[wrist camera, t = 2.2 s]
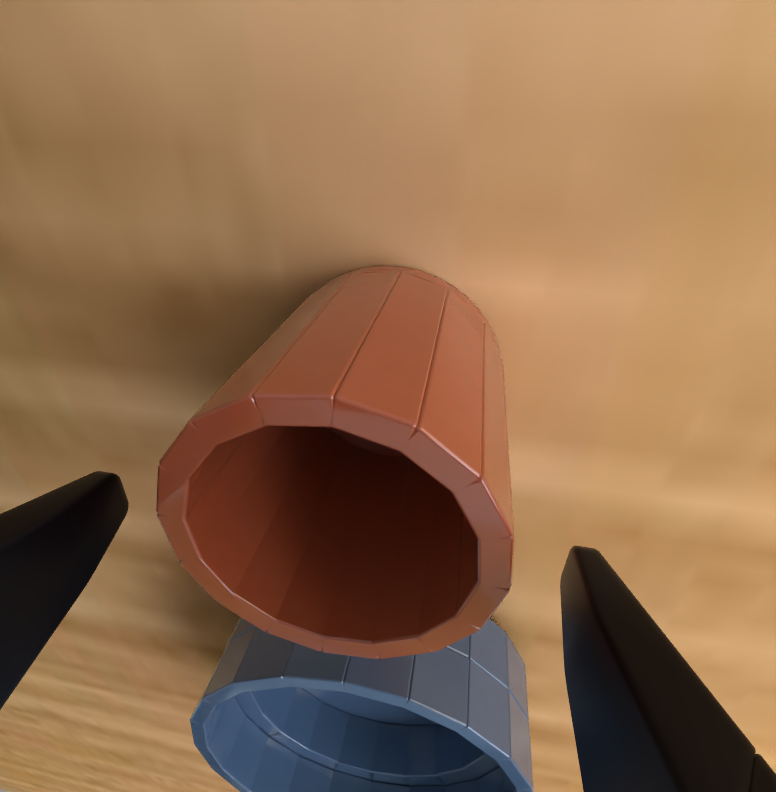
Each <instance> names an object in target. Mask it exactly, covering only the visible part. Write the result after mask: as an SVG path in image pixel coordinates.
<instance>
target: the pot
mask: <svg viewBox="0 0 776 792" xmlns="http://www.w3.org/2000/svg"><path fill="white" fill-rule="evenodd" d="M156 511H157V517H158V519H159V521H160V523H161V525H162V528H163V530H164V532H165V534H166V536H167V539H168V541H169V543H170V545H171V547H172V549H173V552H174V554H175V556H176V558H177V559H178V560H179V563H180V564H181V565H182V566H183V567H184V568H185V569H186V571H187V572H188V573H189V574H190V575H191V576H192V577H193V578H194V579H195V580H196V581H197V582H198V583H199V584H200V585H201V586H202V587H203V588H204V590H205V591H206V592H207V593H208V594H209V595H210V596H211V597H212V598H213V599H214V600H215V601H217V602H218V603H219V604H221V605H222V606H224V607H225V608H227V609H229V610H230V611H232V612H233V613H235V614H237V615H238V616H240V617H241V618H243V619H245V620H246V621H248V622H249V623H251V624H253V625H254V626H256V627H257V628H259V629H260V630H262V631H264V632H268V633H269V634H271V635H274V636H277V637H280V638H283V639H285V640H288V641H291V642H294V643H297V644H300V645H302V646H305V647H308V648H311V649H314V650H316V651H323V652H324V653H330V654H339V655H347V656H355V657H363V658H371V659H379V658H380V659H388V658H395V657H403V656H411V655H418V654H426V653H432V652H437V651H439V650H441V649H443V648H445V647H447V646H449V645H451V644H453V643H455V642H457V641H459V640H461V639H464V638H466V637H468V636H470V635H472V634H474V633H476V632H478V631H479V630H480V629H481V628H482V627H483V626H484V625H485V623H486V622H487V621H488V619H489V618H490V617H491V615H492V614H493V613H494V611H495V610H496V609H497V607H498V606H499V605H500V603H501V602H502V601H503V599H504V598H505V597H506V595H507V594H508V593H509V591H510V587H511V585H512V570H513V551H514V526H513V511H512V495H511V480H510V464H509V448H508V433H507V417H506V402H505V386H504V370H503V364H502V359H501V356H500V351H499V346H498V343H497V341H496V338H495V335H494V333H493V331H492V329H491V327H490V325H489V323H488V321H487V320H486V318H485V317H484V316H483V314H482V313H481V312H480V310H479V309H478V308H477V307H476V306H475V305H474V304H473V303H472V301H471V300H470V299H469V298H468V297H466V296H465V295H464V294H463V293H461V292H460V291H459V290H458V289H456V288H455V287H453V286H452V285H450V284H448V283H447V282H445V281H443V280H442V279H439V278H437V277H435V276H432V275H430V274H428V273H425V272H421V271H418V270H415V269H411V268H404V267H397V266H376V267H367V268H362V269H358V270H354V271H350V272H348V273H346V274H343V275H341V276H338V277H336V278H335V279H333V280H331V281H330V282H328V283H326V284H325V285H323V286H322V287H321V288H320V289H319V290H317V291H315V292H313V293H312V294H311V295H310V296H309V297H308V298H307V299H306V300H305V301H304V302H303V303H302V304H301V305H300V306H299V307H298V308H297V309H296V310H295V311H294V312H293V313H292V314H291V315H290V316H289V317H288V318H287V319H286V320H285V321H284V323H283V324H282V325H281V326H280V327H279V328H278V329H277V330H276V331H275V332H274V333H273V334H272V335H271V336H270V337H269V338H268V339H267V340H266V341H265V342H264V343H263V344H262V345H261V346H260V347H259V348H258V349H257V350H256V352H255V353H254V354H253V355H252V356H251V357H250V358H249V359H248V360H247V361H246V362H245V363H244V364H243V365H242V366H241V367H240V368H239V369H238V370H237V371H236V372H235V373H234V374H233V375H232V376H231V377H230V378H229V379H228V380H227V382H226V383H225V384H224V385H223V386H222V387H221V388H220V389H219V390H218V391H217V392H216V393H215V394H214V395H213V396H212V397H211V398H210V399H209V400H208V401H207V402H206V403H205V404H204V405H203V406H202V407H201V408H200V409H199V410H198V412H197V413H196V414H195V415H194V416H193V417H192V418H191V419H190V420H189V421H188V422H187V423H186V425H185V426H184V428H183V429H182V430H181V432H180V433H179V435H178V436H177V437H176V439H175V440H174V441H173V443H172V444H171V446H170V447H169V448H168V450H167V451H166V452H165V454H164V455H163V457H162V458H161V459H160V462H159V466H158V484H157V510H156Z"/></svg>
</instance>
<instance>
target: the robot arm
mask: <svg viewBox="0 0 776 792" xmlns="http://www.w3.org/2000/svg"><path fill="white" fill-rule="evenodd" d="M127 511H128V500H127V497H126V494H125V491H124V488H123V485H122V482H121V479H120V477H119V476H118V475H117V474H114V473H108V472H102V471H97V472H93V473H91V474H89V475H87V476H84V477H82V478H80V479H78V480H75V481H73V482H71V483H69V484H67V485H64V486H62V487H60V488H58V489H55V490H53V491H51V492H49V493H46V494H44V495H42V496H40V497H38V498H35V499H33V500H31V501H29V502H26V503H24V504H22V505H20V506H17V507H15V508H13V509H11V510H9V511H6V512H4V513H2V514H0V709H1V708H2V707H3V705H4V704H5V702H6V701H7V699H8V698H9V696H10V695H11V694H12V692H13V691H14V689H15V688H16V686H17V685H18V683H19V682H20V681H21V679H22V678H23V676H24V675H25V673H26V672H27V670H28V669H29V667H30V666H31V665H32V663H33V662H34V660H35V659H36V657H37V656H38V654H39V653H40V652H41V650H42V649H43V647H44V646H45V644H46V643H47V641H48V640H49V639H50V637H51V636H52V634H53V633H54V631H55V630H56V628H57V627H58V625H59V624H60V623H61V621H62V620H63V618H64V617H65V615H66V614H67V612H68V611H69V610H70V608H71V607H72V605H73V604H74V602H75V601H76V599H77V598H78V597H79V595H80V594H81V592H82V591H83V589H84V588H85V586H86V585H87V583H88V582H89V580H90V578H91V576H92V575H93V573H94V571H95V570H96V568H97V566H98V564H99V563H100V561H101V559H102V557H103V555H104V554H105V552H106V550H107V548H108V547H109V545H110V543H111V541H112V539H113V538H114V536H115V534H116V532H117V531H118V529H119V527H120V525H121V523H122V522H123V520H124V518H125V516H126V514H127ZM560 589H561V609H562V630H563V650H564V667H565V677H566V684H567V691H568V697H569V703H570V709H571V716H572V722H573V728H574V734H575V740H576V746H577V753H578V759H579V765H580V771H581V777H582V783H583V790H584V792H776V774H775V773H774V771H773V770H772V769H771V768H770V766H769V765H768V764H767V762H766V761H765V760H764V759H763V757H762V756H761V755H759V754H755V748H754V746H753V745H752V744H751V743H750V741H749V740H748V739H747V738H746V736H745V735H744V734H743V733H742V731H741V730H740V729H739V728H738V726H737V725H736V724H735V722H734V721H733V720H732V719H731V717H730V716H729V715H728V714H727V712H726V711H725V710H724V709H723V707H722V706H721V705H720V704H719V702H718V701H717V700H716V699H715V697H714V696H713V695H712V693H711V692H710V691H709V690H708V688H707V687H706V686H705V685H704V683H703V682H702V681H701V680H700V678H699V677H698V676H697V675H696V673H695V672H694V671H693V670H692V668H691V667H690V666H689V664H688V663H687V662H686V661H685V659H684V658H683V657H682V656H681V654H680V653H679V652H678V651H677V649H676V648H675V647H674V646H673V644H672V643H671V642H670V641H669V639H668V638H667V637H666V635H665V634H664V633H663V632H662V630H661V629H660V628H659V627H658V625H657V624H656V623H655V622H654V620H653V619H652V618H651V617H650V615H649V614H648V613H647V611H646V610H645V609H644V608H643V606H642V605H641V604H640V603H639V601H638V600H637V599H636V598H635V596H634V595H633V594H632V593H631V591H630V590H629V589H628V588H627V586H626V585H625V584H624V582H623V581H622V580H621V579H620V577H619V576H618V575H617V574H616V572H615V571H614V570H613V569H612V567H611V566H610V565H609V564H608V562H607V561H606V560H605V559H604V557H603V556H602V555H601V553H600V552H599V551H597V550H596V549H594V548H588V547H582V546H573V547H572V548H571V550H570V552H569V555H568V558H567V561H566V564H565V567H564V569H563V572H562V576H561V584H560Z"/></svg>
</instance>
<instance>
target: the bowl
mask: <svg viewBox="0 0 776 792" xmlns="http://www.w3.org/2000/svg"><path fill="white" fill-rule="evenodd" d="M190 723H191V728H192V734H193V739H194V744H195V746H196V747H197V748H198V750H199V751H200V753H201V754H202V755H203V757H204V758H205V760H206V761H207V762H208V764H209V765H210V766H211V768H212V769H213V770H214V771H216V772H217V773H218V774H219V775H221V776H222V777H223V778H224V779H225V780H227V781H228V782H229V783H230V784H231V785H233V786H234V787H235V788H236V789H238V790H239V791H240V792H534V791H533V776H532V761H531V747H530V732H529V718H528V703H527V688H526V674H525V664H524V662H523V660H522V658H521V657H520V655H519V653H518V652H517V650H516V648H515V647H514V645H513V643H512V642H511V640H510V638H509V637H508V635H507V633H506V632H505V631H504V630H503V629H501V628H500V627H499V626H498V625H497V624H495V623H494V622H493V621H492V620H491V619H488V621H487V622H486V623H485V625H484V626H483V627H482V628H481V629H480V630H479V631H478V632H476V633H474V634H472V635H470V636H468V637H466V638H464V639H461V640H459V641H457V642H455V643H453V644H451V645H449V646H447V647H445V648H443V649H441V650H439V651H437V652H432V653H426V654H418V655H411V656H403V657H395V658H388V659H380V658H379V659H371V658H363V657H355V656H347V655H339V654H330V653H324V652H323V651H316V650H314V649H311V648H308V647H305V646H302V645H300V644H297V643H294V642H291V641H288V640H285V639H283V638H280V637H277V636H274V635H271V634H269V633H268V632H264V631H262V630H260V629H259V628H257V627H256V626H254V625H253V624H251V623H249V622H248V621H246V620H245V619H243V618H241V617H240V618H239V620H238V622H237V624H236V626H235V628H234V630H233V632H232V634H231V636H230V638H229V640H228V642H227V645H226V647H225V649H224V651H223V653H222V655H221V657H220V659H219V661H218V663H217V665H216V667H215V669H214V671H213V673H212V675H211V677H210V679H209V681H208V683H207V685H206V687H205V690H204V692H203V694H202V696H201V698H200V700H199V702H198V704H197V706H196V708H195V710H194V712H193V714H192V716H191V719H190Z"/></svg>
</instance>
